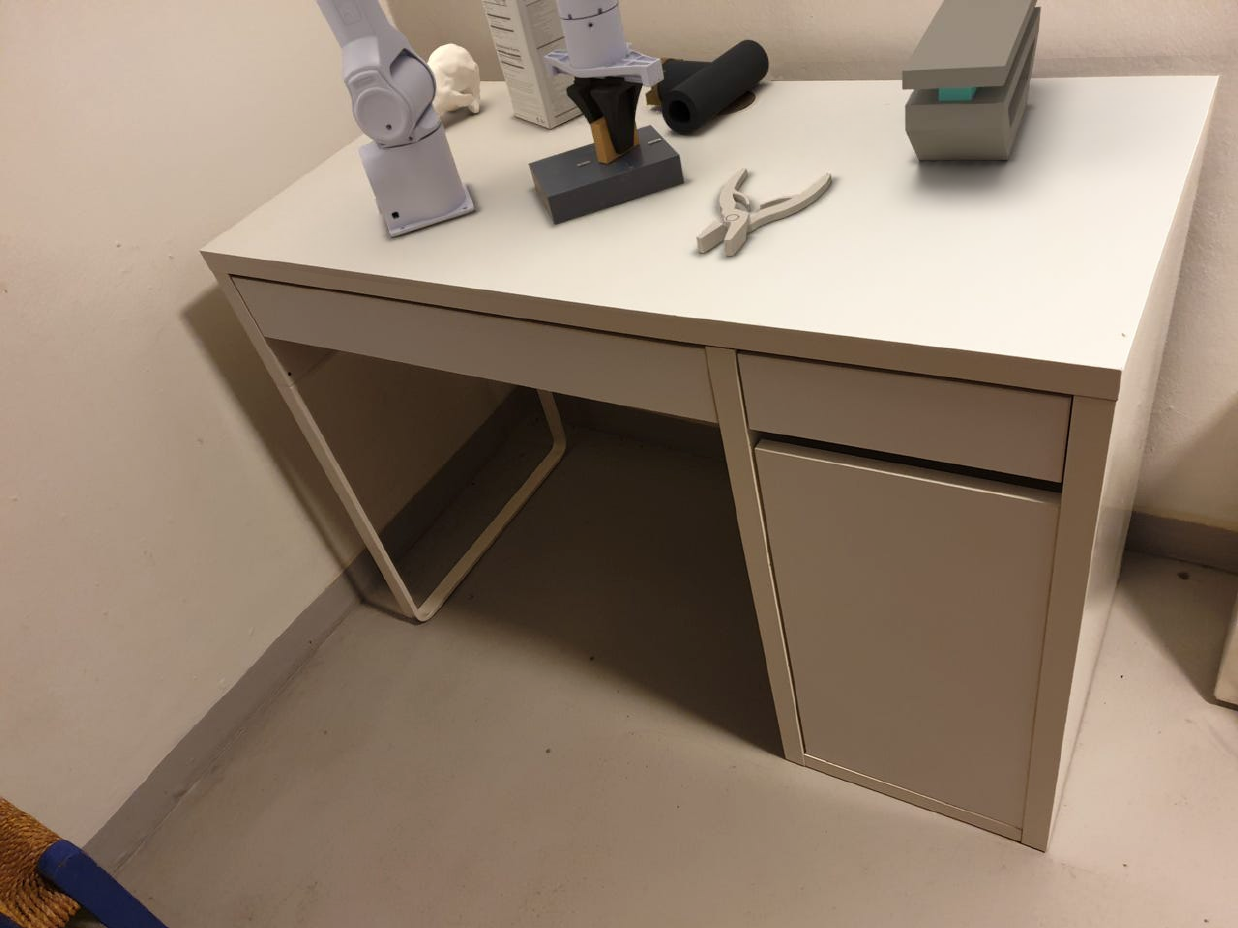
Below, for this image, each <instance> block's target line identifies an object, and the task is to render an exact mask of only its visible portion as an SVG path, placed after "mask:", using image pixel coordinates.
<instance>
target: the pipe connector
mask: <svg viewBox="0 0 1238 928" xmlns="http://www.w3.org/2000/svg"><path fill="white" fill-rule="evenodd" d="M659 58H660V57H659ZM660 59H661V64H662V70H663V76H664V79H663V80H662V81H660V82H658V83H657V84H655V85H653V86H652V87H650V90H648V91H647V92H646V93H644V95H645V100H646V105H648V106H656V107H660V111H661V115H662V119H663V121H664V122H665V124H666V125H667V127H668V128H669V129H670V130H671V131H672V132H674V133H675V134H678V135H682V136H687V135H690V134H692V133H694V132H695V131H696V130H698V129H699V128H700V127H702V126H703V125H704V124H706V123H707V122H708V121H709V120H711V119H712V118H714V117H715V116H717V114H718V113H720V112H721V111H723V110H724V109H726V107H728V106H730V105H731V104H732V103H733V102H735V101H736V100H738V99H739V98H740V97H741V96H742V95H744V94H745V93H746V92H748V91H749V90H750V89H752V88H754V87H755V86H756V85H757V84H758V83H760V82H761V81H763V79H765V78H766V76H767V74H768V73H769V68H770V62H769V56H768V54H767V51H766V50H765V49H764V47H763V46H762V45H761V44H760V43H759V42H758V41H755V40H753V39H744V40H741V41H739V42H738V43H737V44H735V45H734V46H733V47H731V48H729V49H728V50H726V51H725V52H724V53H722V54H721V55H719V56H718V57H716V58H715V59H714V60H712V61H702V60H701V61H700V60H685V59H683V58H672V57H661V58H660Z"/></svg>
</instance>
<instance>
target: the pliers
mask: <svg viewBox="0 0 1238 928" xmlns="http://www.w3.org/2000/svg"><path fill="white" fill-rule="evenodd" d="M747 177H748V168H744V167H743V168H741V169H740V170H738V171H737V172H735V173H734V174H733V175H731V176H730V178H729V179H728V180H727V181H726V182H725V183H724V185H723V187H722V189H721V190H720V193H719V197H718V198H719V199H718V202H719V208H720V213H721V219H722V221H723V222H718V221H715V220H714V221H711V223H710V224H709V225H707V226H706V227H705V228H704V229H703V230H702V231H701V232H699V234H698V235H696V243H697V248H698V249H697V251H698V253H701V254H705V253H707V252H708V251H710V250H711V249H713V248H714V247H716V246H717V245H719V244H720V243H722V242H723V243H724V249H725V256H726V257H734V255H735V254H736V253H737V252H738V251H739V250H740V248H741V247H742V245H743V244H744V243H745V242H746V240H747V233H752V232H754V231H755V230H756V229H758V228H759V227H762V226H764V225H766V224H768V223H771V222H774V221H777V220H781V219H785V218H786V217H789V216H791V215H794V214H796V213H797V212H799V211H802V210H803V209H805V208H807V207H808V206H810V205H811V204H812V203H814V202H815V201H817V200H818V199H819V198H820V197H821V196H822V195H823V194H824V193H825V192H826V191H827V190H828V188H829V186H830V185H831V182H832V173H830V172H827V173H825V174H823V175H822V176H821V178H819V180H817V181H816V182H815V183H813V184H812V185H811V186H809V187H808V188H806V189H805V190H804V191H802V192H801V193H798V194H793V195H785V196H780V197H775V198H773V199H769V200H766V201H764V202H762V203H759V211H757V212H756V213H753V215H751V216H750V211H751V204H750V200H749V198H748V196H747V195H746V194H744V193H743V192H740V191H738V190H739V188H740V187H741V185H742V183H743V182H744V181H745V179H746V178H747ZM736 201H737V202H740V203H742V204H743V205H744V206H745V207H746V210H747V211H744V210H741V209H740V206H739V205H738V204H737V202H736Z"/></svg>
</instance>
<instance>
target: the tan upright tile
mask: <svg viewBox="0 0 1238 928" xmlns="http://www.w3.org/2000/svg"><path fill="white" fill-rule="evenodd" d="M589 127H590V131H591V135H592V140H593V143H594V145H595V149H596V153H597V158H598V162H601V163H606V164H608V163H610V162H611V161H613V160H615V159H616V158H618V157H619V156H621V155H622V154H617V153H616V151H615V149H614V147H613V144H612V141H611V138H610V134H609V130H608V127H607V124H606V121H605V118H604V116H603V117H602V118H600V119H598V120H597V121H595V122H593V123H592V124H589ZM637 129H638V126H637V121H636V120H635V128H634V147H635V146H637V145H638V144H640V142H639V137H638V132H637ZM634 147H632V148H634ZM632 148H631V149H632ZM629 150H630V149H629ZM629 150H627V151H629ZM627 151H626V152H627ZM626 152H624V153H626ZM624 153H623V154H624Z"/></svg>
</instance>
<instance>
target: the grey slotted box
mask: <svg viewBox="0 0 1238 928" xmlns="http://www.w3.org/2000/svg"><path fill="white" fill-rule="evenodd" d="M1037 2H1038V0H943V1H942V3H941V5H940V6H939V8H938V10H937V11H936V12H935V14H934V16H933V18H932V19H931V21H930V23H929V25H928V27H927V28H926V30H925V32H924V33H923V35H922V37H921V39H920V40H919V41H918V43H917V45H916V47H915V49H914V50H913V52H912V53H911V55H910V57H909V58H908V60H907V62H906V63H905V65H904V67H903V69H902V71H901V77H902V78H901V90H903V91H904V90H912V92H911V94H910V96H909V97H908V99H907V101H906V103H905V105H904V107H905V108H904V130H905V133H906V135H907V137H908V140H909V142H910V144H911V146H912V148H913V151H914V153H915V155H916V157H917V160H918V161H1008V160H1009V158H1010V155H1011V152H1012V149H1013V146H1014V143H1015V141H1016V138H1017V134H1018V132H1019V130H1020V126H1021V124H1022V120H1023V119H1024V115H1025V112H1026V109H1027V105H1028V97H1029V93H1030V92H1029V91H1030V85H1031V79H1032V73H1033V67H1034V61H1035V56H1036V55H1035V54H1036V51H1037V49H1036V48H1037V44H1038V38H1039V33H1040V21H1041V10H1042V6H1036V5H1037Z"/></svg>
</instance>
